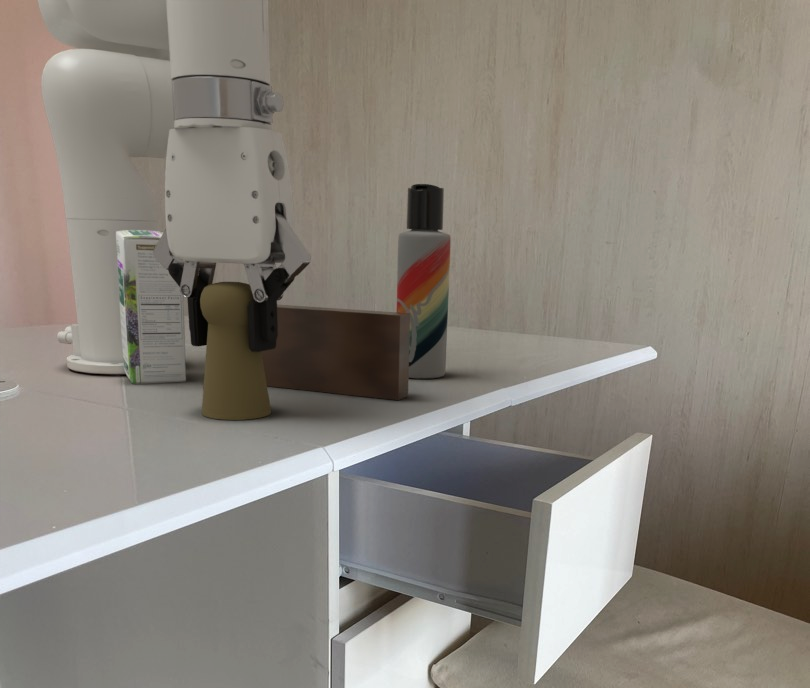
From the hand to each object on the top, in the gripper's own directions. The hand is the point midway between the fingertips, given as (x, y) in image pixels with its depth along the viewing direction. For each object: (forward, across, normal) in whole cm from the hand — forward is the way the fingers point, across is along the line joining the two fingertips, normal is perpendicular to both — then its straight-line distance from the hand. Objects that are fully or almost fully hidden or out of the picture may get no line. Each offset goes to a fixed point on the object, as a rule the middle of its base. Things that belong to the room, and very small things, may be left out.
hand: (233, 345), depth 71 cm
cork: (+6, 0, 0) cm, 6 cm away
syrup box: (+6, +18, -10) cm, 21 cm away
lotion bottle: (+6, -6, -28) cm, 29 cm away
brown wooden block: (+6, 0, -14) cm, 15 cm away
